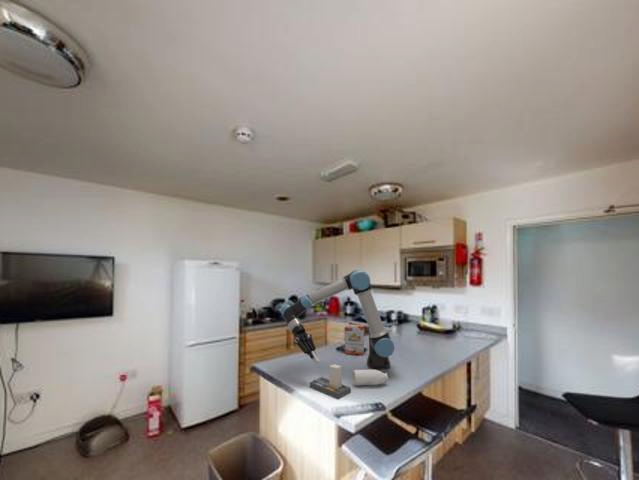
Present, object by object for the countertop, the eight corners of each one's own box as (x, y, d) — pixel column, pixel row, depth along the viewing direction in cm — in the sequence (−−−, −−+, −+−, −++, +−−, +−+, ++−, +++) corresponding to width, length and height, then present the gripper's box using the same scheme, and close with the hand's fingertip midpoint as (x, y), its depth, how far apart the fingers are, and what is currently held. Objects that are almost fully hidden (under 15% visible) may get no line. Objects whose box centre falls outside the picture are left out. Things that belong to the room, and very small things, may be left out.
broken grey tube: (389, 387, 147) (389, 372, 148) (354, 388, 146) (354, 372, 147) (385, 381, 155) (385, 367, 156) (352, 382, 154) (352, 367, 155)
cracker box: (345, 354, 204) (344, 325, 207) (345, 352, 210) (345, 324, 213) (364, 355, 202) (363, 326, 204) (364, 352, 208) (363, 324, 210)
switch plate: (309, 387, 148) (309, 380, 148) (322, 381, 155) (322, 375, 156) (338, 399, 134) (338, 391, 135) (350, 392, 142) (350, 385, 142)
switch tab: (329, 386, 143) (329, 366, 144) (334, 383, 145) (334, 364, 147) (336, 389, 139) (336, 368, 140) (341, 386, 142) (341, 366, 143)
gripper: (301, 329, 171) (321, 363, 158) (285, 333, 162) (305, 370, 149) (307, 322, 168) (328, 355, 155) (291, 325, 159) (312, 361, 146)
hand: (317, 362), depth 152 cm, fingers closed
